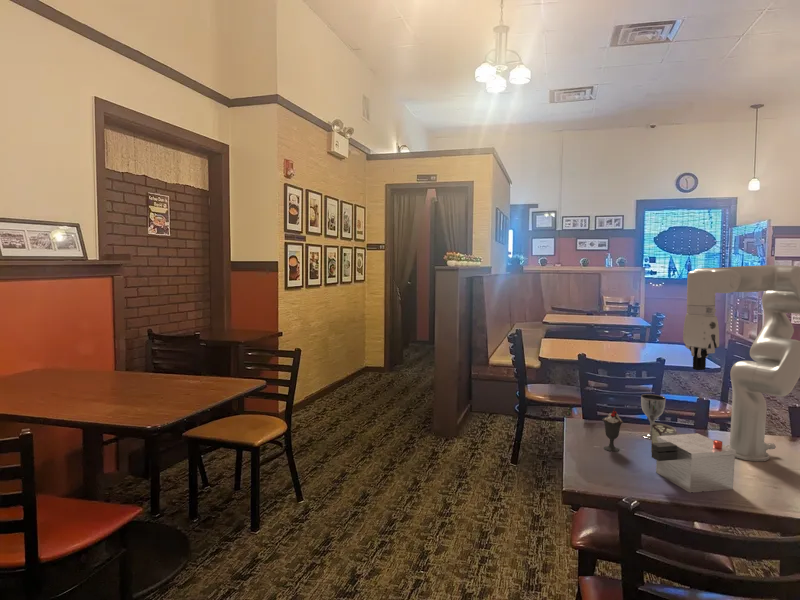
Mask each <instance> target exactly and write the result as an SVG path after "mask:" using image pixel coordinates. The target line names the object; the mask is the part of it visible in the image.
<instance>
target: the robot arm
mask: <svg viewBox="0 0 800 600" xmlns="http://www.w3.org/2000/svg"><path fill="white" fill-rule="evenodd" d="M686 279H687V282H686V283H687V285H686V286H687V287H686V288H687V289H686V314H685V316H684V317H685V318H684V323H683V332H682V333H683V334H682V340H683V343H684V344H685V348H686V349H688V350H689V351H690V353H691V354H690V355H691V356H692V369H693V370H696V371H705V370H706V365H707V364H706V363H707V358H708V356H709V355H710V354H715V353H716V349H718V348H719V347H720V328H719V327H720V326H719V320H718V316H717V315H716V312H717V309H716V295H717V293H718V294H731V293H756V292H757V293H758V292H763V294H762V297H761V304H762V309H763V314H764V324H763V326H762V328H761V329H760V331H759V333H758V334H757V336H756V338H755V340H754V341H753V342H752V344H751V347H750V349H749V357H750V358H751V359H752V360H740V361H739V360H738V361H737V362H735V363H734V364H733V365H732V367H731V369H730V373H729V374H730V382H731V388H732V389H731V390H732V398H731V399H732V402H731V415H730V416H731V417H730V436H729V444H727V445H726V446H727V447H730V448H732V449H734V450H736V454H734V455H735V458H737V459H740V460H744V461H749V462H767V461H768V460H769V459H770V454H769V453H768V452H767V451H768V450H776V448H777V447H776V444H775V443H773V442H771V443H770V442H769V443H766V442H765V436H766V422H767V421H766V420H767V419H766V418H767V411H768V409H767V408H768V407H767V401H766V399H765V397H764V394H765V395H769V396H774V397H781V398H782V397H786V396H788V395H789V394H791V392H792V391H793V389H794V387H795V386H796V384H797V383H798V381H799V379H800V340H797V339H792V337H793V335H794V332H795V329H794V326H793V323H792V321H791V320H790V319H789V317H788V316H787V314H794V315H800V266H799V265H784V264H783V265H779V264H778V265H775V264H774V265H773V264H772V265H771V264H769V265H766V264H765V265H763V264H762V265H741V266H737V265H736V266H727V267H725V266H724V267H701V268H700V267H699V268H696V269H694V270H691V271H689V272H688V273H687V278H686Z"/></svg>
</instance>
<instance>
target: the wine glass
mask: <svg viewBox="0 0 800 600" xmlns="http://www.w3.org/2000/svg"><path fill="white" fill-rule="evenodd" d="M640 396H641V397H640V403H641V405H640V406H641V409H642V412H643V413H644V414H645V416H646V417H647V419H648V421H649V424H650V426H649V427H650V429H649V433H642V435H641V434H640V437H641V436H642V437H641V438H643V437H644V438H643V439H645V438H647V439H646V440H649V439H650V440H649V441H652V428H651V426H652V422H654V423H656V422H655V421H656V420H657V419H658V418H659V417H660V416H662V414H663V413H664V411H665V407H666V397H665V396H663V395H659V394H654V393H652V394H651V393H644V394H641V395H640Z"/></svg>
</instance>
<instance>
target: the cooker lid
mask: <svg viewBox="0 0 800 600" xmlns="http://www.w3.org/2000/svg"><path fill="white" fill-rule="evenodd" d="M657 440H658V441H659V442H661V443H652V442H651V443H652V449H654V450H656V451H658V452H663V451H676V450H677V451H679V452H681V453H683V454H685V455H687V456H689V457H691V458H696V457H709V456H722V455H734V454H736V450H734V449H732V448H730V447H727V445H724V444H723V441H721V440H717V439H711V438H709V437H707V436H705V435H703V434H700V433H684V434H677V435H667V436H657Z"/></svg>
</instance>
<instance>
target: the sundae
mask: <svg viewBox="0 0 800 600" xmlns="http://www.w3.org/2000/svg"><path fill="white" fill-rule="evenodd" d="M601 420H602V421H603V423H604V424H603V425H604V431H605V436H606V437H607V439H609V443H608V445H607V446H603V449H604V450H605V451H607V452H611V451H612V453H617V452H620V449H619V447H615V443H614V440H616V439H617V438H618V437H619V435H620V429H621V426H622V424H624V421H623V420H622V419H621V418H620V416H619V414H618V413H617V411H616V407H613V410H612V411H611V412H609V413H608V415H607V416H606V417H605V416H604V417H602V419H601Z"/></svg>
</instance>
